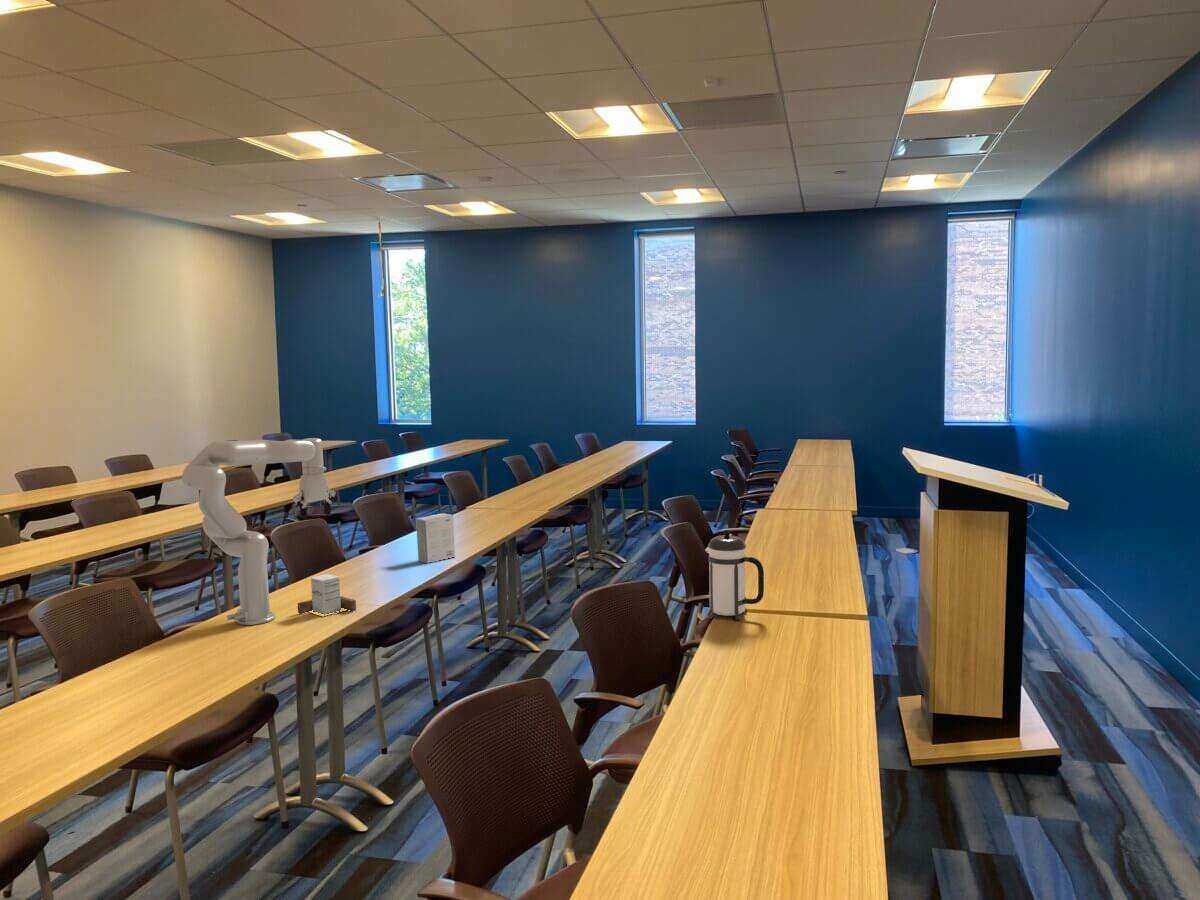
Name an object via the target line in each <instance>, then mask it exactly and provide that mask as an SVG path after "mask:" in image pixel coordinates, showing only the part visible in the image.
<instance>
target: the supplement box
mask: <svg viewBox="0 0 1200 900" xmlns="http://www.w3.org/2000/svg"><path fill="white" fill-rule="evenodd" d="M340 581H341V580H340V576H338V575H332V574H329V573H325V574H321V575H317V576H312V577H311V578H310V582H311V583H310V584H311V599H312V606H313V612H318V613H321V614H324V615H325V614H329V613H333V612H336V611H340V610H341V600H340V596H341V587H340V586H341V584H340V583H341V582H340Z"/></svg>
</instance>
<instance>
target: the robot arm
mask: <svg viewBox="0 0 1200 900" xmlns="http://www.w3.org/2000/svg"><path fill="white" fill-rule="evenodd" d="M296 462H297V463H298V462H299V463H300V462H301V464H302V465H301V467H302V475H300V479H299V486H298V488H299V489H298V493H296V494H295V495H294V496H293V497H292V500H293V502H294V504H295V505H296V506H297V507H298V508H299V513H300V515H299V516H300V518H301V519H305V520H306V519H308V509H307V505H309V504H308V503H315V502H321V501H322V502H323V514H324V515H326V516H327V515H328V516H329V515H331V511H332V510H331V509H332V508H331V504H332V503H333V501H334V500H335V496H336V493H337V492H336V491H335V490H333V489H331V488H329V484H328V478H327V476H326V473H325V471H327V467H326V466H325V465H324V452H323V442H322V439H321V438H318V437H311V438H309V437H308V438H303V439H286V440H274V439H273V440H272V439H252V440H251V439H249V440H248V439H247V440H214V441H212V442H210V443H208V445H206V446H205V447H204V448H203V449H202V450H201V451H200V452H199V453H198V454H197V455H196V456H195V457H193V459H192V460H191V461H190V462H189V463H188V464H187V465H186V467H184V470H183V471H182V475H181V480H182V483H183V484H184V485H185V487H186V488H188V489H190V490H197V491H198V490H199V497H198V507H199V509H200V511H201V513H202V514H203V519H202V525H201V526H202V529H203V532H204V533H205V535H206V536H207V537H208V538H209V539H210V540H211V541H212V542H213V543H214V544H215V545H216V546H217V547H218V548H219V549H221V551H222V552H224V553H225V554H226V555H228V556H231V557H235V558H240V561H239V564H238V569H237V576H238V577H237V579H238V591H239V605H240V606H239V607H240V608H238V609H237V612H235V613H231V614H227V615H226V620H227V621H229V622H230V621H232V620H234V621H236V624H238V625H241V626H243V625H244V626H252V625H253V626H254V625H262V624H264V623H269V622H271V621H273V620H274V619H275V618H276V613H274V612H271V608H270V605H271V604H270V593H269V592H270V591H269V590H270V589H269V576H268V557H269V556H268V555H269V546H270V545H269V541H268V539H267V537H266V536H265V535H264V534H262V533H261V532H258V531H254V530H253V531H252V530H247V528H248V526H247V521H246V520H245V518H244V517H243V516H242V514H241V513H239V511H238V510H237V509H236V508H234V506H233V505H232V504H231V503H230V502H229V500H228V499H227V497H226V496H225V489H226V485H227V484H226V483H227V475H226V472H225V471H224V470H223V469H222V468H221V467H219V466H229V467H236V466H247V465H250V466H251V465H267V464H268V465H269V464H270V465H271V464H278V463H279V464H280V463H281V464H282V463H296Z"/></svg>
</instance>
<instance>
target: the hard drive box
mask: <svg viewBox="0 0 1200 900" xmlns="http://www.w3.org/2000/svg"><path fill="white" fill-rule="evenodd" d="M415 526H416V542H417V557H418V562H419V561H421V562H420V563H423V562H425V563H424V564H430V563H429V562H432V563H435V562H434V561H436V562H439V560H441V561H444V560H443V559H445V560H449V559H448V558H450V559H453V558H452V557H454V558H456V545H455V531H454V530H455V529H454V528H455V526H454V515H453V514H449V513H445V512H444V513H443V512H442V513H437V514H432V515H428V516H423V517H417V518H415Z"/></svg>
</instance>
